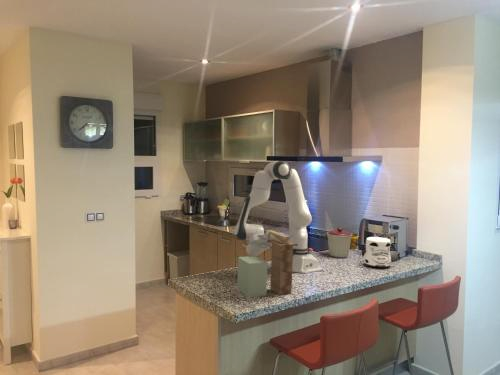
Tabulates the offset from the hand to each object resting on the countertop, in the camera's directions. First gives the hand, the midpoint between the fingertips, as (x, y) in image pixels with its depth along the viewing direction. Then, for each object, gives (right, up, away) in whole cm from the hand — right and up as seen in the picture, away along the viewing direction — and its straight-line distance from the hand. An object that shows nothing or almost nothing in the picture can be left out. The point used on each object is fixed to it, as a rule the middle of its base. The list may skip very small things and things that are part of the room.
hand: (272, 233), depth 228 cm
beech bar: (+2, -3, -5) cm, 6 cm away
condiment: (+69, -23, +104) cm, 126 cm away
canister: (+52, -25, +76) cm, 95 cm away
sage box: (-11, -29, -11) cm, 33 cm away
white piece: (+72, -27, +51) cm, 93 cm away
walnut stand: (+4, -29, -8) cm, 30 cm away
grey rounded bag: (+87, -26, +73) cm, 117 cm away
